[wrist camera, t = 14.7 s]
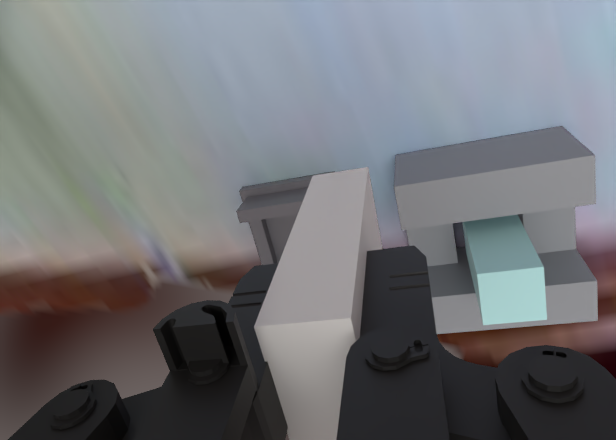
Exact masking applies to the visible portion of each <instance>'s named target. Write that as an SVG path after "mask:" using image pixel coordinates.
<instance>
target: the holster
mask: <svg viewBox="0 0 616 440" xmlns="http://www.w3.org/2000/svg"><path fill="white" fill-rule="evenodd" d="M334 172H335V171H334ZM328 173H333V172H328ZM322 174H326V173H322ZM316 175H320V174H316ZM312 176H314V175H311V176H305V177H299V178H293V179H287V180H281V181H275V182H269V183H264V184H258V185H252V186H246V187H242V189H241V190H240V191H239V192H240V195H241V198H242V201H243V203H242V204H241V206H240V207H239V208H238V210H237V211H236V212H237V215H238V218H239V222H240V223H243V222H249V224H250V228H251V231H252V234H253V237H254V241H255V244H256V247H257V251H258V254H259V257H260V260H261V264H262V265H268V264H277V263H279V261H280V259H281V256H282V253H283V251H284V248H285V246H286V243H287V241H288V238H289V235H290V233H291V230H292V228H293V225H294V223H295V220H296V217H297V215H298V212H299V210H300V207H301V205H302V202H303V199H304V197H305V194H306V192H307V189H308V187H309V184H310V181H311V179H312Z"/></svg>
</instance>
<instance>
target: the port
mask: <svg viewBox="0 0 616 440" xmlns="http://www.w3.org/2000/svg"><path fill="white" fill-rule="evenodd" d="M394 190H395V196H396V201H397V207H398V213H399V218H400V224H401V229H402V230H406V231H407V237H408V243H409V246H413V245H414V246H416V247H417V248H418V249H419V250H420V251H421V252H422V253H423V254H424V255H425V256H426V259H427V267H428V274H429V281H430V288H431V296H432V303H433V310H434V317H435V325H436V332H437V334H443V333H455V332H467V331H479V330H491V329H503V328H515V327H527V326H539V325H551V324H563V323H575V322H587V321H598V306H597V280H596V278H595V277H594V275H593V274H592V272H591V271H590V269H589V268H588V266H587V265H586V263H585V262H584V260H583V259H582V257H581V256H580V254H579V253H578V251H577V250H576V228H575V207H577V206H584V205H591V204H596V185H595V155H594V154H593V153H592V152H591V151H590V150H589V149H588V148H586V147H585V146H584V145H583V144H582V143H581V142H580V141H578V140H577V139H576V138H575V137H574V136H573V135H572V134H571V133H569V132H568V131H567V130H566V129H565V128H564V127H563V126H559V127H553V128H547V129H542V130H536V131H530V132H524V133H518V134H513V135H507V136H501V137H495V138H490V139H484V140H478V141H472V142H467V143H461V144H455V145H449V146H443V147H438V148H432V149H426V150H420V151H415V152H409V153H403V154H397V155H395V174H394ZM510 215H518V216H519V218H520V220H521V222H522V224H523V226H524V228H525V230H526V232H527V234H528V236H529V238H530V240H531V242H532V244H533V246H534V248H535V250H536V252H537V254H538V256H539V258H540V260H541V262H542V264H543V266H544V278H545V294H546V310H547V320H538V321H526V322H515V323H503V324H492V325H483V322H482V318H481V314H480V310H479V306H478V301H477V297H476V293H475V289H474V284H473V280H472V276H471V272H470V267H469V263H468V259H467V255H466V247H460V248H456V244H455V237H454V229H453V223H459V222H466V221H474V220H481V219H488V218H496V217H503V216H510Z"/></svg>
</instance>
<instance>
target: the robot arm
mask: <svg viewBox="0 0 616 440" xmlns="http://www.w3.org/2000/svg"><path fill="white" fill-rule="evenodd" d="M153 331H154V333H155V336H156V338H157V341H158V343H159V345H160V348H161V350H162V352H163V355H164V357H165V360H166V362H167V365H168V367H169V370H170V372H169V374H168V376H167V378H166V380H165V381H164V383H163V385H162V387H159V388H157V389H153V390H150V391H147V392H144V393H141V394H137V395H134V396H131V397H128V398H124V399H121V397H120V395H119V393H118V391H117V389H116V387H115V384H114V383H111V382H109V381H107V380H90V381H87V382H84V383H81V384H77V385H75V386H72V387H71V388H69V389H67V390H65V391H63V392H61V393H59V394H58V395H57V396H56V397H54V398H53V399H52V400H50V401H49V402H48V403H47V404H45V405H44V406H43V407H42V408H41V409H40V410H39V411H38V412H37V413H36V414H35V415H34V416H33V417H32V418H31V419H29V420H28V421H27V422H26V423H25V424H24V425H23V426H22V427H21V428H20V429H19V430H18V431H17V432H16V433H14V434H13V436H11V437H10V438H9V439H8V440H285V438H286V434H287V433H288V437H289V440H616V379H615V378H614V377H613V376H612V375H611V374H610V373H609V372H608V371H607V370H606V369H605V368H604V367H603V366H601V365H600V364H599V363H597V362H596V361H595V360H593V359H592V358H591V357H589V356H587V355H585V354H582V353H579V352H577V351H574V350H572V349H569V348H563V347H556V346H548V345H544V346H534V347H526V348H523V349H521V350H518V351H516V352H513V353H511V354H509V355H508V356H507V357H506V358H505V359H504V360H503V361H502V362H501V363H500V364H499V365H498V368H494V367H488V366H482V365H478V364H474V363H470V362H466V361H464V360H462V359H459V358H457V357H455V356H453V355H452V354H451V353H449V352H448V351H447V350H445V349H444V347H443V346H442V345H441V344H440V342H439V340H438V337H437V332H436V325H435V317H434V310H433V303H432V296H431V288H430V281H429V274H428V267H427V259H426V256H425V255H424V254H423V253H422V252H421V251H420V250H419V249H418V248H417V247H416V246H414V245H413V246H405V247H397V248H388V249H383V248H382V243H381V237H380V231H379V226H378V220H377V214H376V209H375V203H374V197H373V192H372V186H371V180H370V175H369V169H368V167H365V168H358V169H352V170H346V171H339V172H333V173H326V174H320V175H314V176H312V179H311V181H310V184H309V187H308V189H307V192H306V194H305V197H304V199H303V202H302V205H301V207H300V210H299V212H298V215H297V217H296V220H295V223H294V225H293V228H292V230H291V233H290V235H289V238H288V241H287V243H286V246H285V248H284V251H283V253H282V256H281V259H280V261H279V263H277V264H268V265H260V266H254V267H253V268H252V269H251V270H250V271H249V272H248V273H247V274H246V275H244V276H243V277H242V278H241V279H240V281H239V283H238V285H237V287H236V289H235V291H234V293H233V297H231V299H230V301H229V303H228V304H227V303H225V302H222V301H208V300H207V301H202V302H197V303H192V304H190V305H187V306H185V307H182V308H180V309H177V310H175V311H174V312H172V313H171V314H169V315H168V316H166V317H165V318H164V319H162V320H161V321H160V322H159V323H158V324H157V325H156V327H155V328H154V329H153Z"/></svg>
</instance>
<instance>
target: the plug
mask: <svg viewBox="0 0 616 440" xmlns="http://www.w3.org/2000/svg"><path fill="white" fill-rule="evenodd" d="M462 224H463V231H464V239H465V247H466V255H467V259H468V263H469V267H470V272H471V276H472V280H473V284H474V289H475V293H476V297H477V301H478V306H479V310H480V314H481V318H482V322H483V325H492V324H503V323H515V322H526V321H538V320H547V310H546V294H545V278H544V266H543V264H542V262H541V260H540V258H539V256H538V254H537V252H536V250H535V248H534V246H533V244H532V242H531V240H530V238H529V236H528V234H527V232H526V230H525V228H524V226H523V224H522V222H521V220H520V218H519V216H518V215H510V216H503V217H496V218H488V219H481V220H474V221H466V222H462Z"/></svg>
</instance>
